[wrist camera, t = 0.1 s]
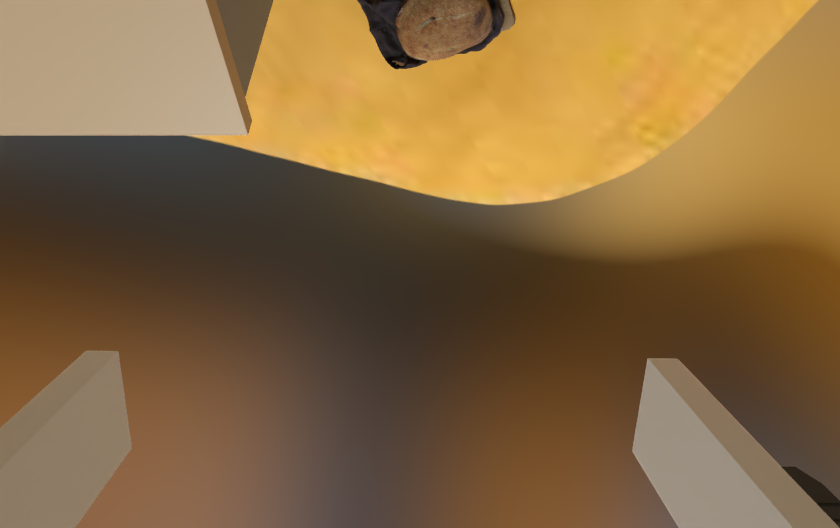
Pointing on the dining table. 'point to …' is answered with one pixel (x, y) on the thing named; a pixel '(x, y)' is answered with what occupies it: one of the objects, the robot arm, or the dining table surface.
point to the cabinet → (128, 66)
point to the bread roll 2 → (434, 27)
